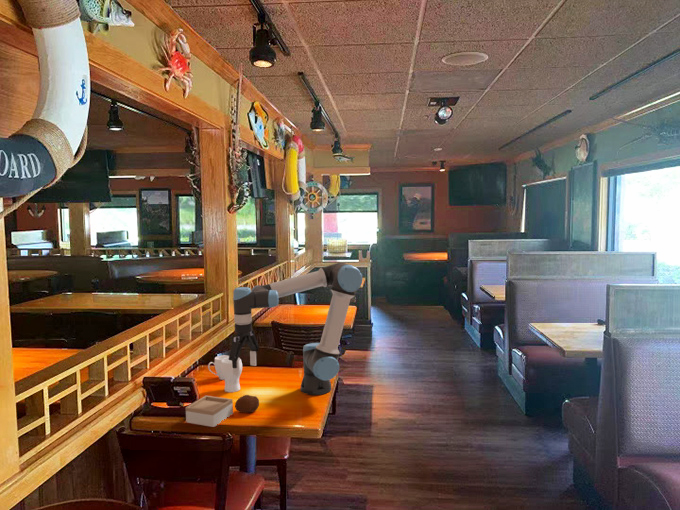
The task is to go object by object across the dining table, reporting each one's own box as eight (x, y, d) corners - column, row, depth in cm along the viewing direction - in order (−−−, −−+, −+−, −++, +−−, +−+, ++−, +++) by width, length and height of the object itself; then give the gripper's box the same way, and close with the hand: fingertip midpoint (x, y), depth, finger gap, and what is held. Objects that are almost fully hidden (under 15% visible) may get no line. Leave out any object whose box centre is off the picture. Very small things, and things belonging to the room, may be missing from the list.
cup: (238, 394, 243) (236, 364, 241) (217, 392, 245) (216, 363, 243) (246, 386, 253) (245, 357, 251) (227, 385, 255) (225, 356, 254)
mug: (228, 374, 271) (227, 354, 270) (233, 379, 264) (232, 358, 263) (206, 379, 265) (205, 358, 264) (211, 383, 258) (210, 362, 257)
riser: (233, 413, 219) (232, 399, 219) (213, 427, 207) (213, 411, 206) (206, 409, 225) (205, 395, 224) (186, 422, 212) (185, 407, 211)
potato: (262, 412, 220) (261, 396, 220) (238, 418, 215) (238, 401, 214) (255, 406, 228) (255, 390, 227) (233, 411, 222) (232, 394, 222)
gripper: (251, 316, 231) (253, 360, 233) (218, 328, 208) (221, 378, 210) (265, 317, 228) (267, 362, 230) (233, 330, 205) (236, 380, 207)
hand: (245, 370), depth 220 cm, fingers open, 13 cm apart
